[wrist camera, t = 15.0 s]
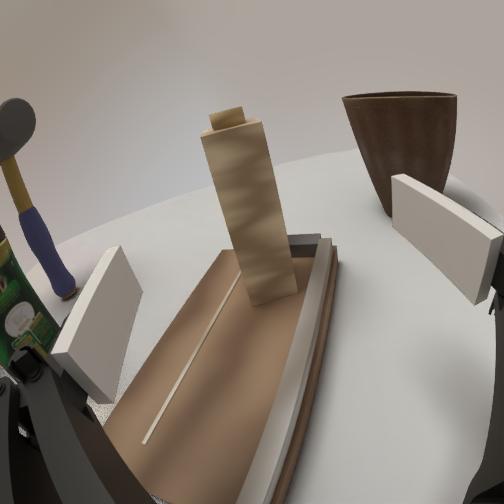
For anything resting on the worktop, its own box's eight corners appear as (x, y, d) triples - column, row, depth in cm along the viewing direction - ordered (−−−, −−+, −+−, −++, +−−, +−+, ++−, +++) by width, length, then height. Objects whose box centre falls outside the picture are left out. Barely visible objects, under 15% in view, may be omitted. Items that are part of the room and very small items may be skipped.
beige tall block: (251, 306, 24) (195, 119, 17) (246, 273, 28) (200, 117, 21) (298, 293, 24) (257, 103, 17) (285, 263, 28) (249, 104, 21)
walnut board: (101, 465, 15) (71, 445, 13) (227, 264, 35) (218, 238, 33) (271, 535, 10) (257, 534, 8) (338, 261, 30) (335, 232, 28)
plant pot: (351, 235, 34) (332, 100, 26) (362, 190, 45) (348, 93, 37) (468, 239, 27) (471, 98, 19) (448, 191, 38) (443, 91, 30)
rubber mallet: (107, 279, 39) (33, 88, 24) (78, 312, 33) (-12, 101, 18) (63, 280, 43) (-2, 124, 28) (37, 307, 37) (-38, 140, 22)
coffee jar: (19, 387, 22) (-75, 251, 13) (54, 343, 28) (-24, 210, 19) (57, 419, 18) (-74, 246, 9) (98, 361, 25) (-2, 191, 15)
